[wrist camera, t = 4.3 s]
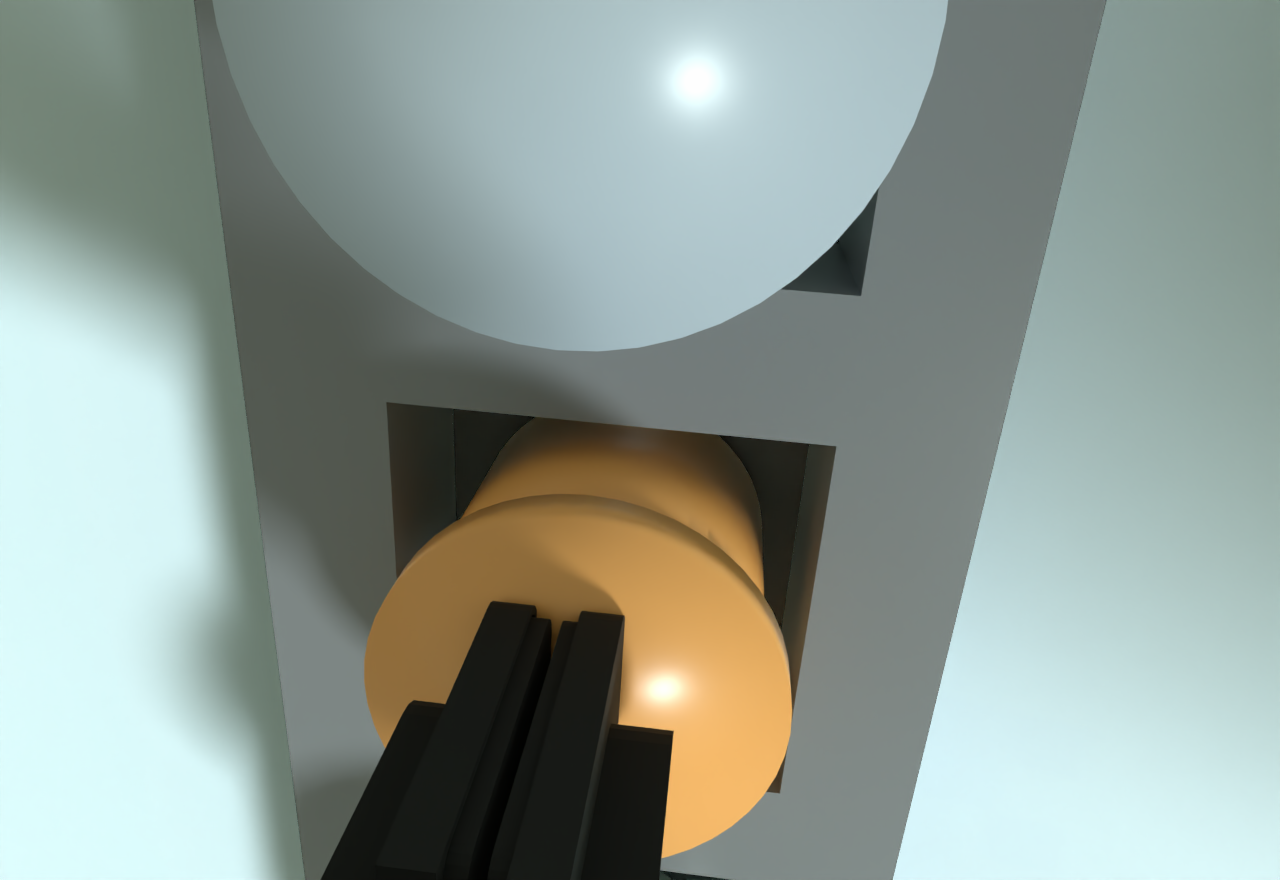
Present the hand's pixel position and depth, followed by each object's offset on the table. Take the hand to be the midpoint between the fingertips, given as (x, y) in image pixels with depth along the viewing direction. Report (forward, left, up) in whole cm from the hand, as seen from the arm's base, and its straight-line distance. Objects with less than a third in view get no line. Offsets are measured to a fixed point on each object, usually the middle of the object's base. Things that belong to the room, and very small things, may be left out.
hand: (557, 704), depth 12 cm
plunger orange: (0, 0, -5) cm, 5 cm away
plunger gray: (0, -8, -3) cm, 9 cm away
